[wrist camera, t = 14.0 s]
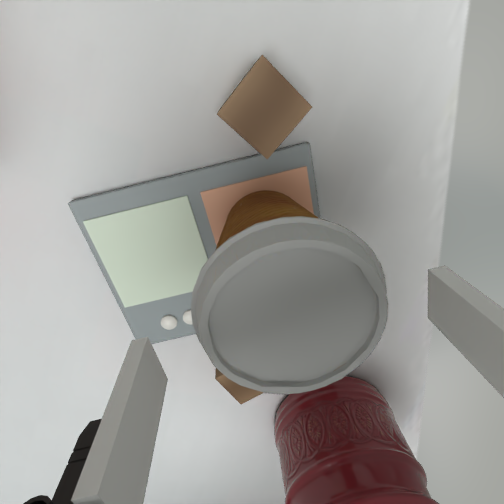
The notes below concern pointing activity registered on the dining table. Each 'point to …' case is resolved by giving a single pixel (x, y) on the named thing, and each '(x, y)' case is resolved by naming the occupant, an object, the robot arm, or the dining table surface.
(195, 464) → the dining table surface
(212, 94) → the dining table surface
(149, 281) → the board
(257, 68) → the walnut block
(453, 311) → the robot arm
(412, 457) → the canister
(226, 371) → the disposable coffee cup
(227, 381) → the walnut block
